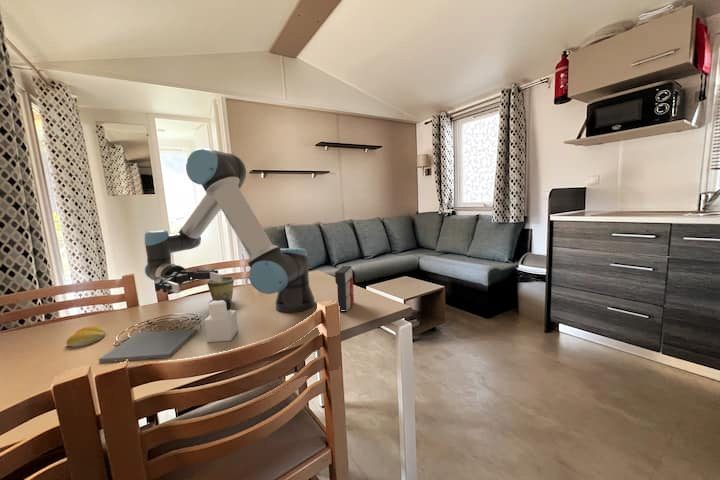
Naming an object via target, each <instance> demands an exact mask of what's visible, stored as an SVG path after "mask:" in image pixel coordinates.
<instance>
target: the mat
mask: <svg viewBox="0 0 720 480" xmlns="http://www.w3.org/2000/svg"><path fill="white" fill-rule="evenodd" d="M196 333H198V328H188V329H187V328H186V329H185V328H184V329H171V330H155V331H144V332H143V331H142V332H141V331H140V332H138V333H136V334H134V335H133V336H131V337H129V338H128V339H126V340H125V341H124V342H122V343H121V344H120V345H118V346H116V347H115V348H113V349H112V350H111V351H108V353H106V354H104V355H103V356H101V357H100V358H99V359H98V361H99V363H110V361H114V362H124V361H125V360H126V359H128V361H139V360H140V361H141V359H142V360H150V359H149V358H156V359H168V358H171V357H172V356H173V355H174V354H175V353H177V351H179V349H180V348H182V347H183V346H184V345H185V343H187V342H188V341H189V340H190V339H191V338H192V337H193V336H195V335H196ZM115 360H116V361H115ZM123 360H124V361H123Z"/></svg>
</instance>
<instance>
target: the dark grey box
mask: <svg viewBox="0 0 720 480" xmlns="http://www.w3.org/2000/svg"><path fill="white" fill-rule="evenodd" d="M334 276H335V284H336V286H337V304H338V303H339V306H340V311H341V310H345V311H346V310H347V311H349V310H350V308H351V306H353V304H354V301H355V300H354V295H355V294H354V278H353V267H352V265H342V266H341V267H339V269H337V270H336V271H335V272H334ZM348 309H349V310H348Z"/></svg>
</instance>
